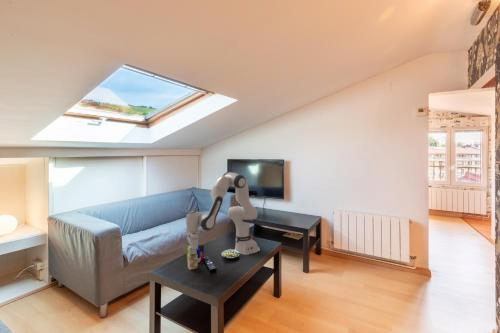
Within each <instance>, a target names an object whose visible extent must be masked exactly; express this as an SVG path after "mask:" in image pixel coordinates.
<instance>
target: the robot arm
mask: <svg viewBox="0 0 500 333" xmlns="http://www.w3.org/2000/svg"><path fill="white" fill-rule="evenodd" d="M230 187H232V188H235V201H236V202H237V203H238V204H239V205H241V206H230V207H229V208H228V211H227V215H228V218H230V219H231V220H232V221H233V223H234V225H235V247H234V250H236V251H238V252H240V255H245V256H248V255H251V254H255V253H258V251H259V252H260V251H261V248H260V247H259V246H258V243H257V242H256V241H255V240H253V238H254V236H253V235H251V234H250V226H249V224H248V223H246V222H244V221H245V220H246V221H249V220H250V221H251V220H255V219H257V217H258V213H259V212H258V209H257V208H256V207H254V205H252V203H251V201H250V196H249V195H250V194H249V193H250V192H249V183H248V181H247V180H246V177H245V176H243V175H242V174H239V173H238V172H231V171H226V172H224V173H223V175H221V176H219V177H218V179H217V180H216V181H215V183H214V184H213V186H212V188H211V190H210V195H209V196H210V198H211V200H212V205H211V207H210V209H209V212H208V213H205V212H200V211H198V210H196V209H192V210H189V211H188V212H187V213H186V216H185V217H186V218H185V219H186V220H185V224H186V228H185V231H186V232H185V234H186V237H187V242H188V243H189V246H190V245H191V247H192V253H195V249H198V245H199V238H200V232H199V227H201V228H202V229H203V230H204V231H206V232H208V231H212V230H213V229H214V228H215V226H216V220H217V217H218V215H219V212H220V210H221V207H222V204H223V200H224V198H225V197H226V193H227V192H228V190H229V188H230ZM243 220H244V221H243Z"/></svg>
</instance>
